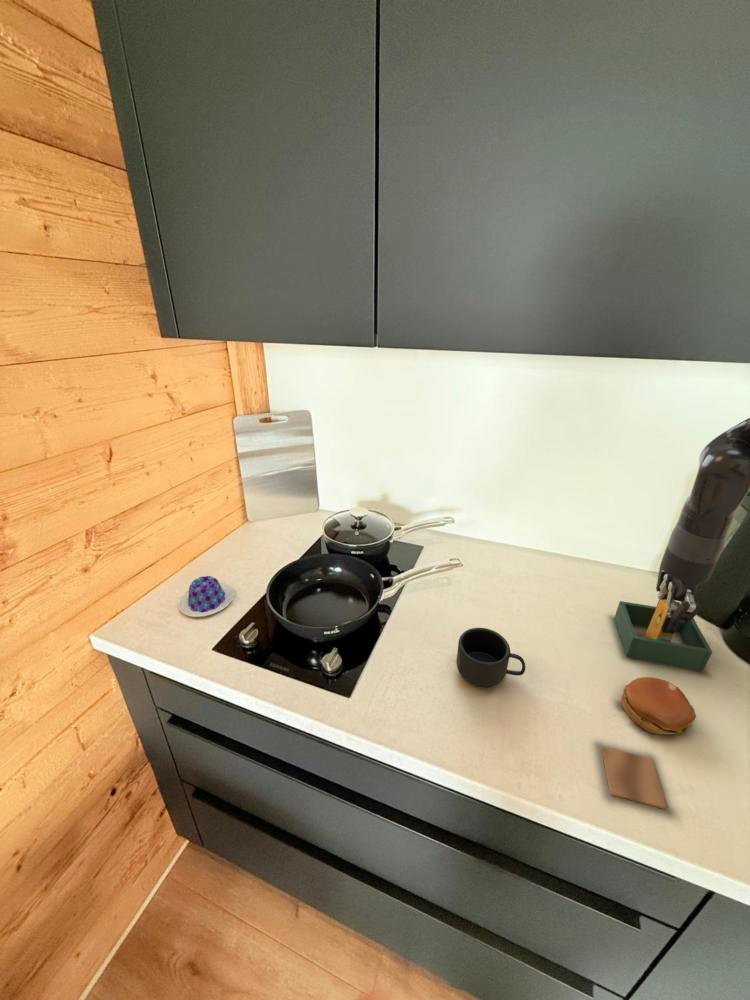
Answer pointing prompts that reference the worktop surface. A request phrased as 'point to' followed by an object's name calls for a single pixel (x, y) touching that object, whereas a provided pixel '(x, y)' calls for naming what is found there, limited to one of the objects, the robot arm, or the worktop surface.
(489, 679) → the mug
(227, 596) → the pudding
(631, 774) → the coaster
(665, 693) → the burger
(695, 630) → the basket
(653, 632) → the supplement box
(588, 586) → the worktop surface
